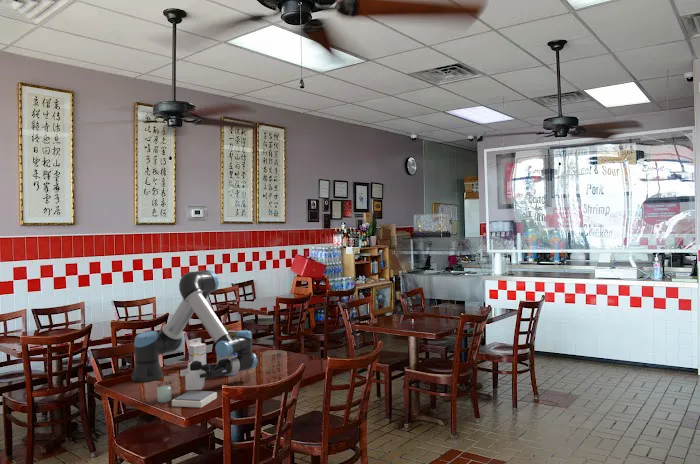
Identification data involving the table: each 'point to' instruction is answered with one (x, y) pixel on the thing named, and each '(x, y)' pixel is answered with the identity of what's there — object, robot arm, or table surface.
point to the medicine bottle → (192, 369)
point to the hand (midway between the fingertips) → (186, 375)
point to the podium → (194, 399)
